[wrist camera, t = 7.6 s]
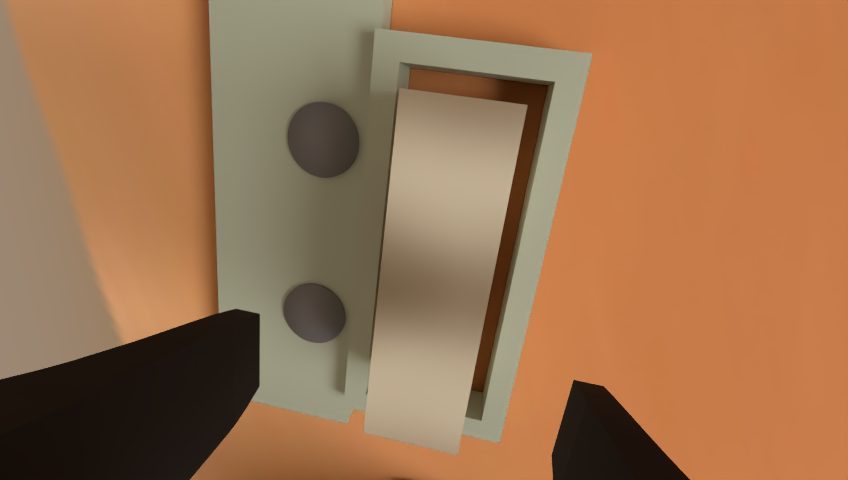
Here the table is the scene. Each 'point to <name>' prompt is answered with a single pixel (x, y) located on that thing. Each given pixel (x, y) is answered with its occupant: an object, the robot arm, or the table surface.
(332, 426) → the table surface
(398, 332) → the birch door
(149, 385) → the robot arm
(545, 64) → the sage cabinet frame
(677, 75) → the table surface
